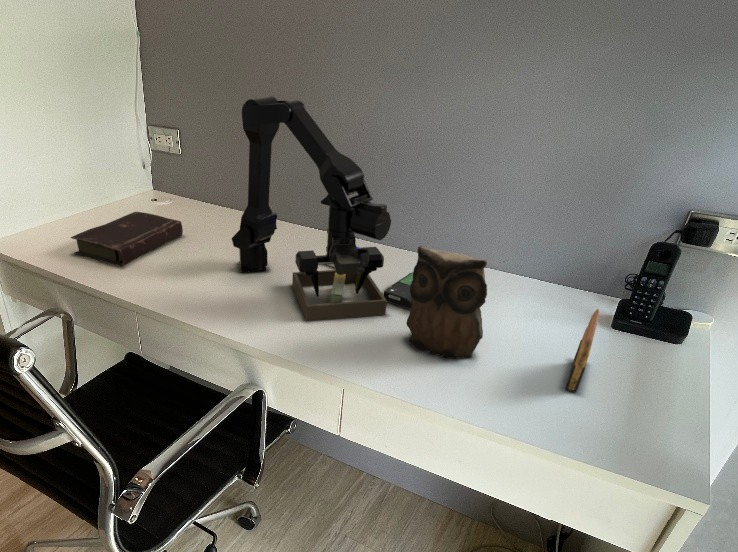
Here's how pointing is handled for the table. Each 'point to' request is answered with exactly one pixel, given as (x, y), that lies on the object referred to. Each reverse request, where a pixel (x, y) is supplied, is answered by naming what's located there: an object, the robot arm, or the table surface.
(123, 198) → the table surface
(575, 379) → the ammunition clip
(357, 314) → the storage box
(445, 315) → the owl
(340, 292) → the medication box
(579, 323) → the table surface
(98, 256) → the diary
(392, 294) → the disk drive
